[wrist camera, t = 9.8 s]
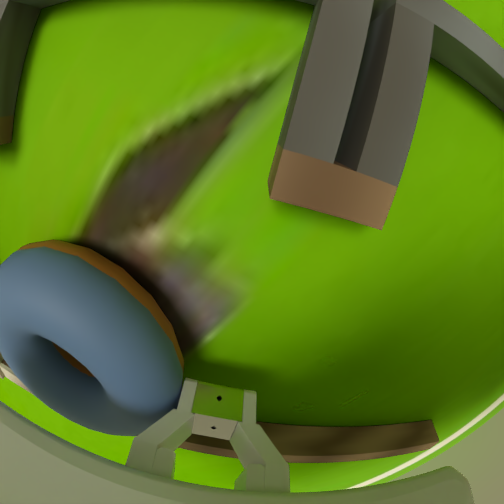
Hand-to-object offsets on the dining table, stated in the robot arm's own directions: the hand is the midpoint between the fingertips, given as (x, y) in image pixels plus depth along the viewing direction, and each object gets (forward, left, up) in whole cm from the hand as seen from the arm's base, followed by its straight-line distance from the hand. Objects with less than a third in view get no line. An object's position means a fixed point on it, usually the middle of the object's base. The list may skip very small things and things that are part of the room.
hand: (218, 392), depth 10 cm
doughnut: (+6, 0, -2) cm, 7 cm away
